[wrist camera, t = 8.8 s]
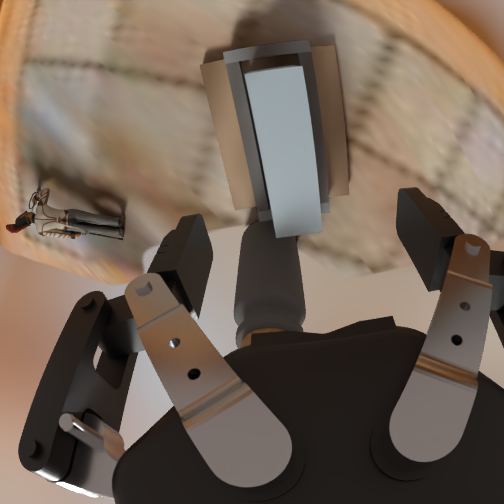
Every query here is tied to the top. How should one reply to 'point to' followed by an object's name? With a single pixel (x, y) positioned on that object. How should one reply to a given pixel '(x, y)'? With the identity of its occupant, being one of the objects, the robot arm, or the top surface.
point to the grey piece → (243, 126)
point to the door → (286, 148)
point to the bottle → (268, 284)
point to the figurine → (65, 220)
